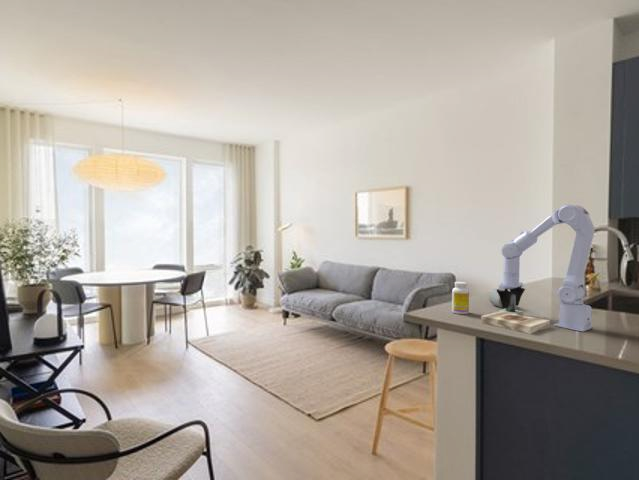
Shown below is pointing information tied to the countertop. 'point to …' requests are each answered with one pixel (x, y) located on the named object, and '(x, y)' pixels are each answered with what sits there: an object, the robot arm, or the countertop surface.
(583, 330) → the robot arm
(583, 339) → the countertop surface
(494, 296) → the ceramic mug
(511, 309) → the peg
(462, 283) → the supplement bottle
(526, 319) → the hole plate
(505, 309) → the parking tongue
